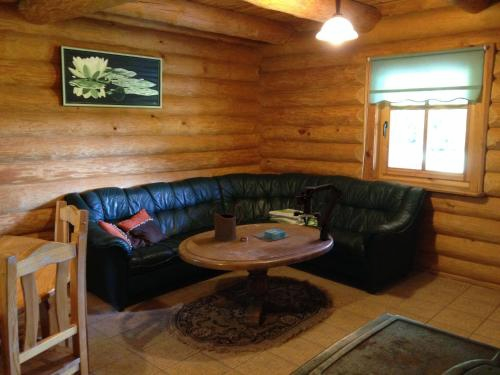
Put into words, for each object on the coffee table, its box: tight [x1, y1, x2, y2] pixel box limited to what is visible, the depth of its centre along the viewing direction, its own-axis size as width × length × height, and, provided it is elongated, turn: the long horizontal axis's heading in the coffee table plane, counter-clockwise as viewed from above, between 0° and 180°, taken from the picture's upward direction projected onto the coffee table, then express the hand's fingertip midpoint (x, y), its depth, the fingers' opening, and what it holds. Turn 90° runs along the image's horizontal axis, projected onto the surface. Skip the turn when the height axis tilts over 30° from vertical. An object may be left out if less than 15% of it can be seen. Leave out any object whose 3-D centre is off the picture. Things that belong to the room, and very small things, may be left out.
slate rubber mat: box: [251, 231, 291, 242], centre depth 333 cm, size 22×20×1 cm
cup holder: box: [212, 203, 244, 243], centre depth 326 cm, size 18×24×25 cm
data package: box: [264, 228, 286, 241], centre depth 328 cm, size 12×4×12 cm
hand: (306, 226), depth 315 cm, fingers closed
